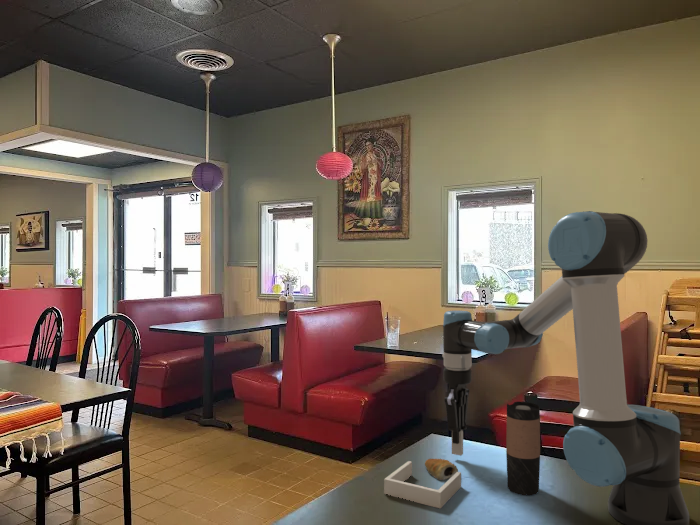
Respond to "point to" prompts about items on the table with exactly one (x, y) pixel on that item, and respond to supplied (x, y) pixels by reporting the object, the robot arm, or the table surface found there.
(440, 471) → the pastry
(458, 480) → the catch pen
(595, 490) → the table surface
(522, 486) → the travel mug
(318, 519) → the table surface
